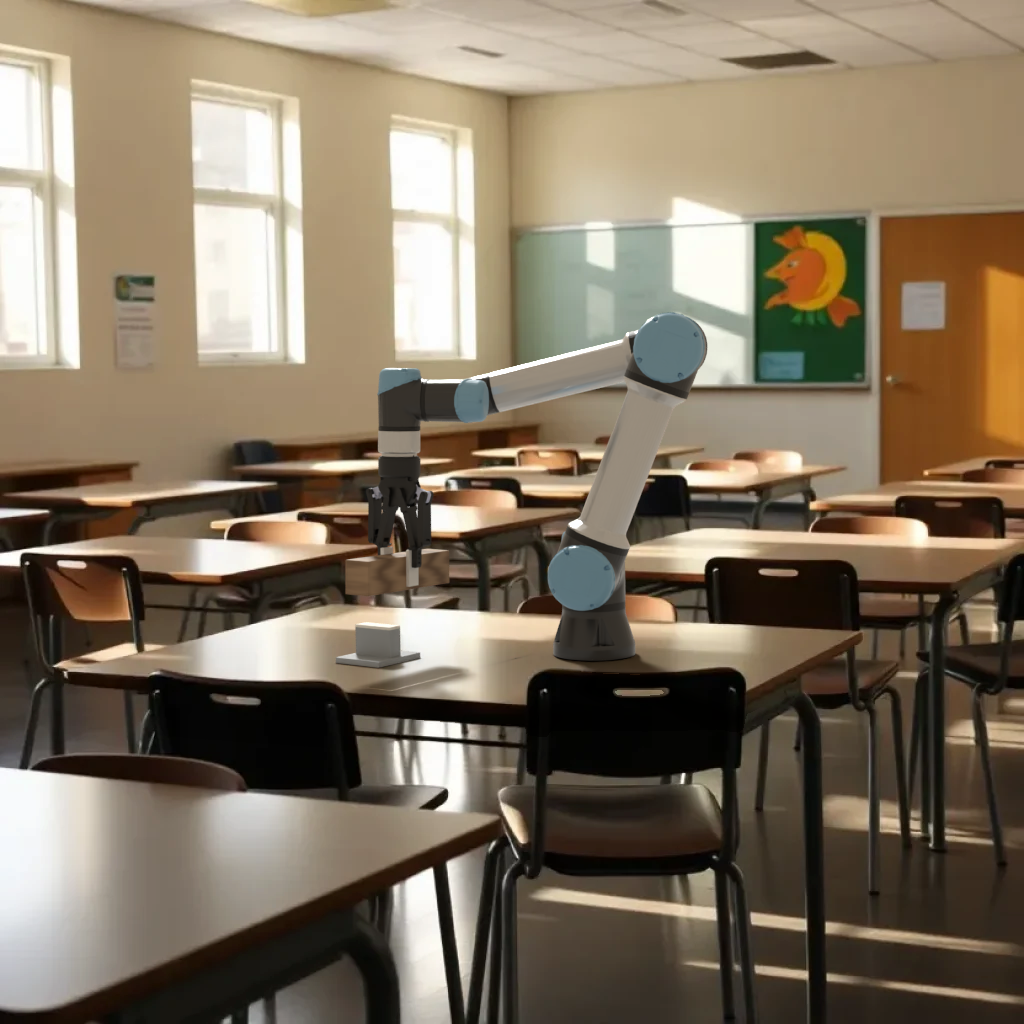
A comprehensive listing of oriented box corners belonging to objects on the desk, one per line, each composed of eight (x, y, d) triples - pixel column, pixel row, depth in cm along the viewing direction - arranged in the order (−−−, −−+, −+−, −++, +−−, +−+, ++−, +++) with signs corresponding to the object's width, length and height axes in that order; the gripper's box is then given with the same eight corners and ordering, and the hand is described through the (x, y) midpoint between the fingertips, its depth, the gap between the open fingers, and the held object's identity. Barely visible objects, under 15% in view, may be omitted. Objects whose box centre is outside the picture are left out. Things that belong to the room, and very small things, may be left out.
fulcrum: (420, 657, 317) (419, 622, 316) (378, 667, 307) (377, 631, 306) (378, 653, 322) (377, 618, 322) (335, 662, 313) (334, 627, 312)
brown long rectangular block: (427, 580, 321) (427, 548, 321) (449, 582, 318) (449, 550, 318) (345, 594, 301) (345, 559, 301) (368, 596, 298) (368, 561, 298)
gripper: (452, 455, 306) (452, 586, 308) (372, 452, 316) (372, 578, 318) (427, 457, 300) (427, 590, 302) (346, 453, 310) (346, 582, 312)
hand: (399, 584), depth 310 cm, fingers closed on brown long rectangular block, 5 cm apart
